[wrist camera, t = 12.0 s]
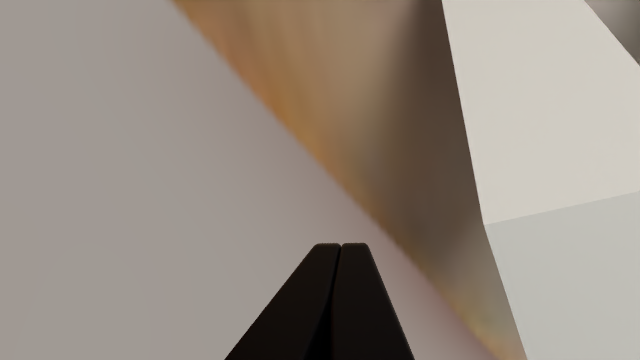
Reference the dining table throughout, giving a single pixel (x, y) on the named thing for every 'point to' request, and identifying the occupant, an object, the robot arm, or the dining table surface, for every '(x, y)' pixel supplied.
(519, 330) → the domino
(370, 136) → the dining table surface
